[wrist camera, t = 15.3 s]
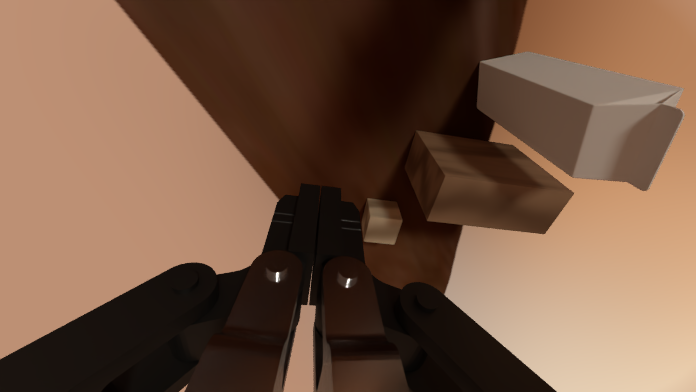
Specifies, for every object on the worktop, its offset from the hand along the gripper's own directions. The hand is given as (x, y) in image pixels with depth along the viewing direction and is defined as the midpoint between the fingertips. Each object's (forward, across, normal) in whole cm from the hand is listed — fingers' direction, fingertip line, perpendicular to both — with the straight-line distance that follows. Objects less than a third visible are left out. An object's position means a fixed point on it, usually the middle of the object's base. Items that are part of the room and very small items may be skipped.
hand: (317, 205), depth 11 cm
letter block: (+29, -11, +21) cm, 38 cm away
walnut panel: (+29, -20, +9) cm, 37 cm away
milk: (+29, -22, -2) cm, 37 cm away
